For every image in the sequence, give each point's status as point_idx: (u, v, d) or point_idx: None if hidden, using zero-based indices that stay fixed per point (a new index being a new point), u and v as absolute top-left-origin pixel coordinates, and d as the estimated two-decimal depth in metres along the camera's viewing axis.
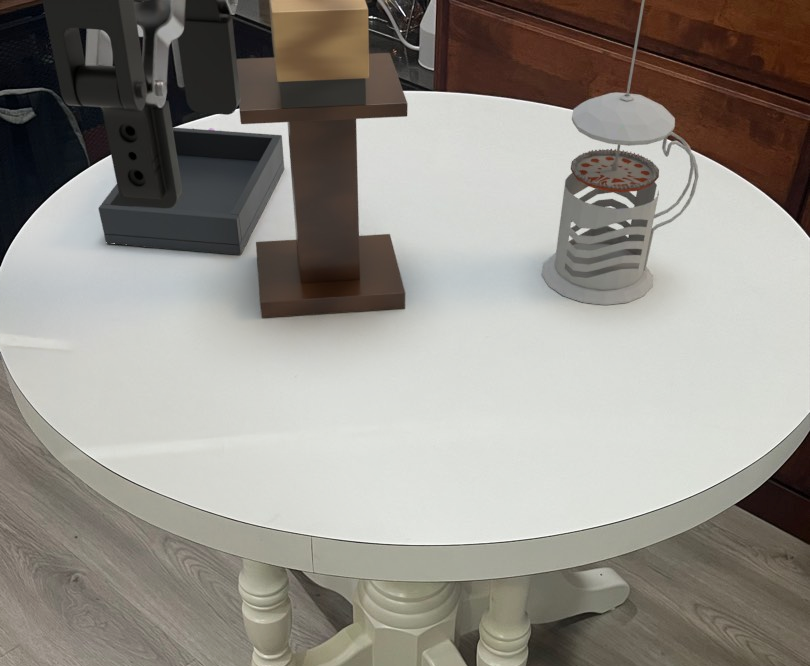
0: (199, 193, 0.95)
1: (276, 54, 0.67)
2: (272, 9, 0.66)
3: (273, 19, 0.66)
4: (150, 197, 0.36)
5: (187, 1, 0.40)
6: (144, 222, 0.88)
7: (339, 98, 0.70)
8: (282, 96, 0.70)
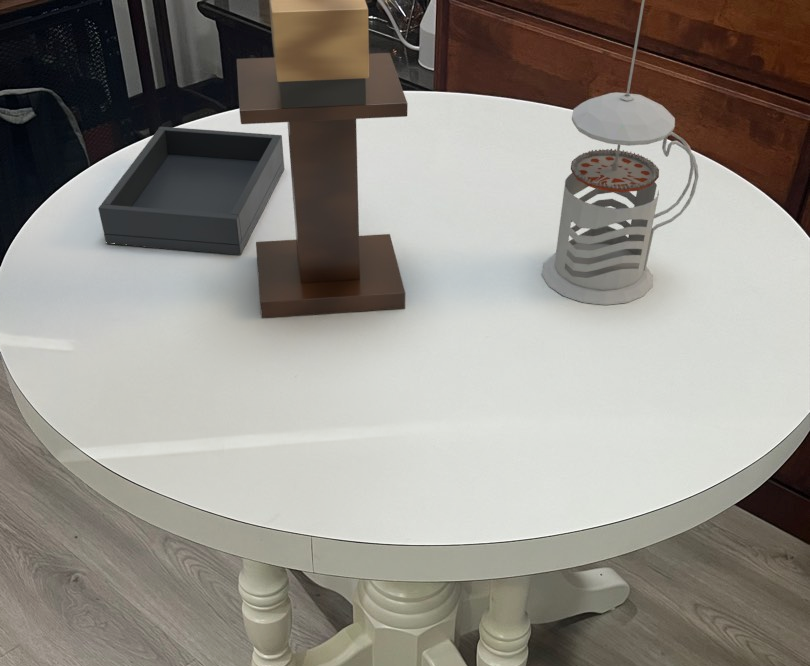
0: (199, 193, 0.95)
1: (276, 54, 0.67)
2: (272, 9, 0.66)
3: (273, 19, 0.66)
4: None
5: None
6: (144, 222, 0.88)
7: (339, 98, 0.70)
8: (282, 96, 0.70)
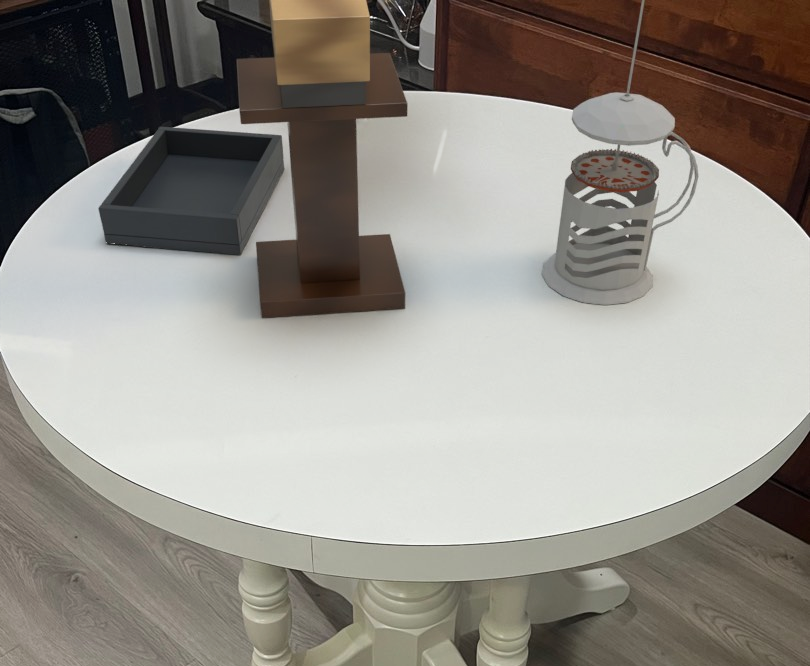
0: (199, 193, 0.95)
1: (277, 59, 0.67)
2: (273, 15, 0.65)
3: (274, 26, 0.65)
4: None
5: None
6: (144, 222, 0.88)
7: (339, 98, 0.70)
8: (282, 97, 0.70)
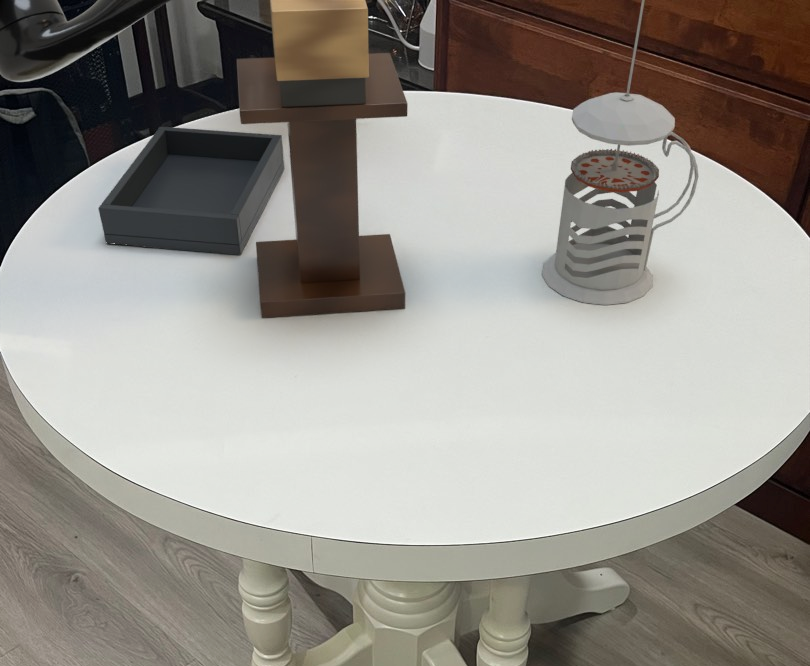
0: (199, 193, 0.95)
1: (276, 53, 0.67)
2: (272, 8, 0.66)
3: (273, 18, 0.66)
4: None
5: None
6: (144, 222, 0.88)
7: (339, 97, 0.71)
8: (282, 95, 0.70)
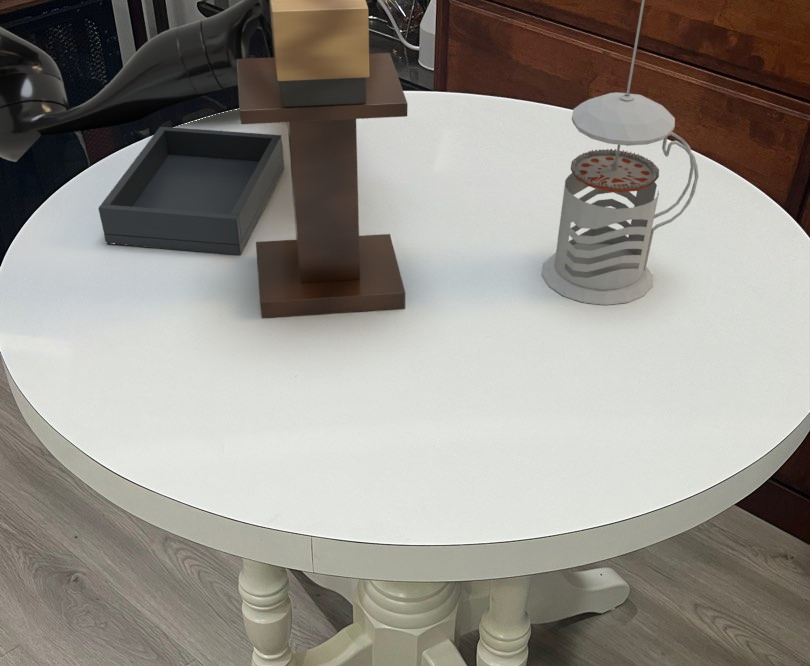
0: (199, 193, 0.95)
1: (276, 53, 0.67)
2: (272, 8, 0.66)
3: (273, 18, 0.66)
4: None
5: None
6: (144, 222, 0.88)
7: (340, 97, 0.71)
8: (282, 95, 0.70)
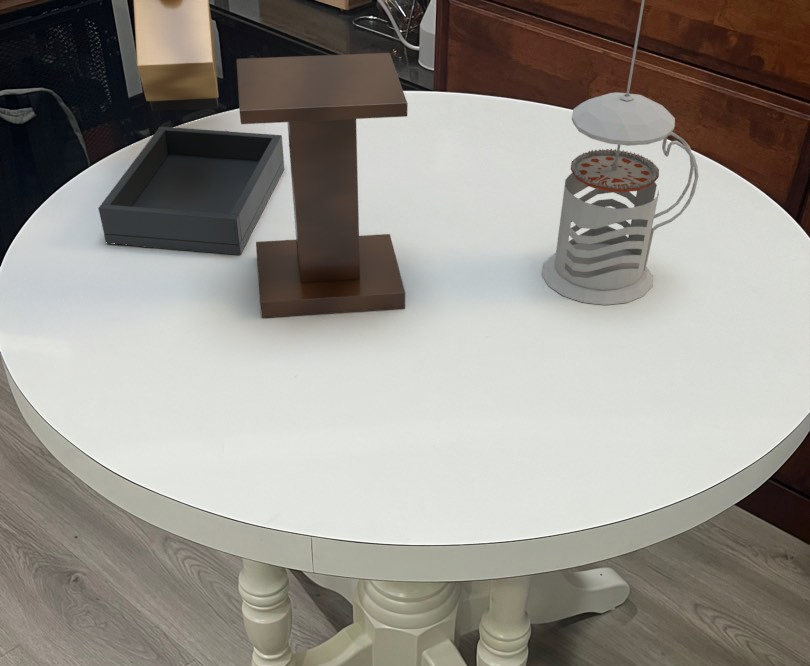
0: (199, 193, 0.95)
1: (143, 87, 0.87)
2: (137, 60, 0.85)
3: (138, 69, 0.85)
4: None
5: None
6: (144, 222, 0.88)
7: (197, 105, 0.91)
8: (151, 105, 0.90)
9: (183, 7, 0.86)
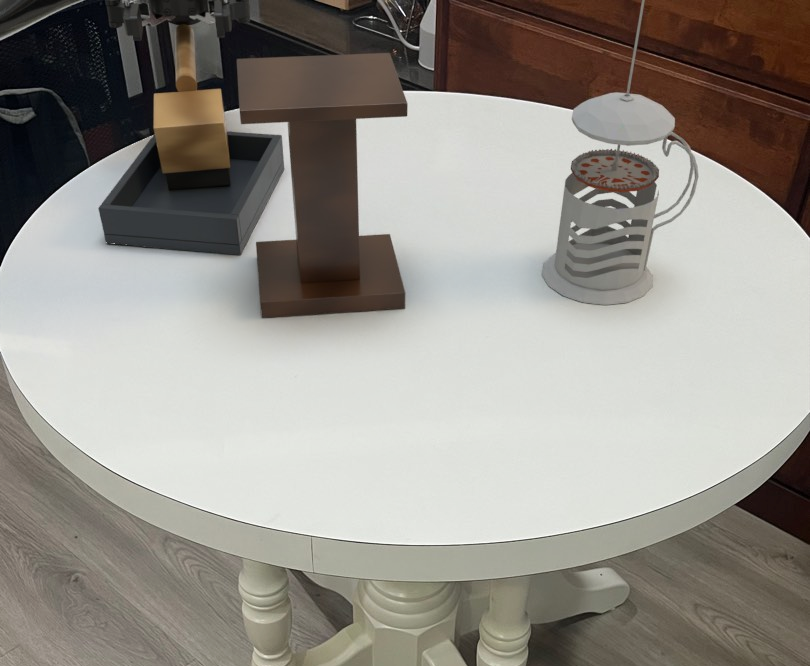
0: (199, 193, 0.95)
1: (159, 155, 0.93)
2: (154, 125, 0.91)
3: (155, 132, 0.91)
4: (125, 23, 0.91)
5: None
6: (144, 222, 0.88)
7: (210, 181, 0.96)
8: (167, 182, 0.95)
9: (198, 95, 0.95)
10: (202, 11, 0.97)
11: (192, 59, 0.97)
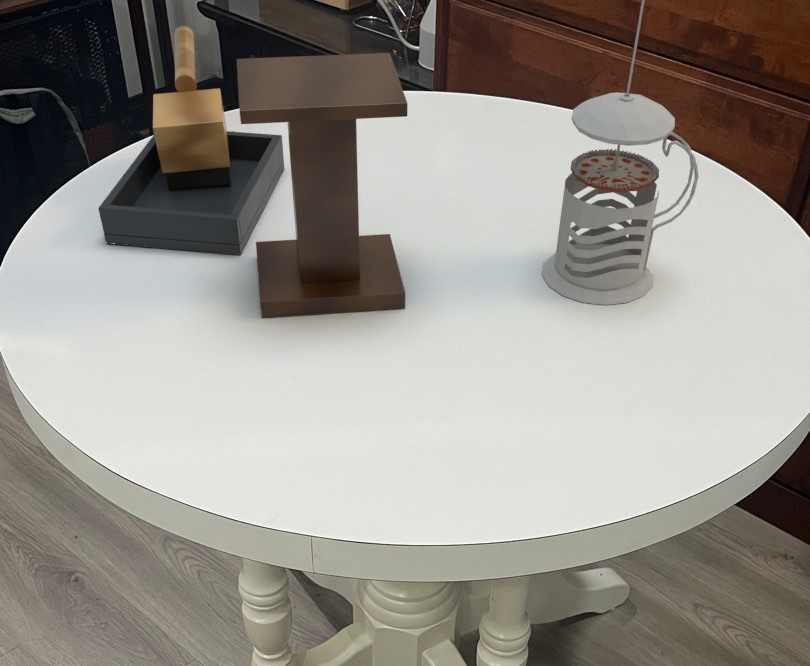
0: (199, 193, 0.95)
1: (159, 155, 0.93)
2: (153, 124, 0.91)
3: (154, 132, 0.91)
4: None
5: None
6: (144, 222, 0.88)
7: (210, 181, 0.96)
8: (168, 182, 0.95)
9: (197, 95, 0.95)
10: None
11: (191, 60, 0.98)
